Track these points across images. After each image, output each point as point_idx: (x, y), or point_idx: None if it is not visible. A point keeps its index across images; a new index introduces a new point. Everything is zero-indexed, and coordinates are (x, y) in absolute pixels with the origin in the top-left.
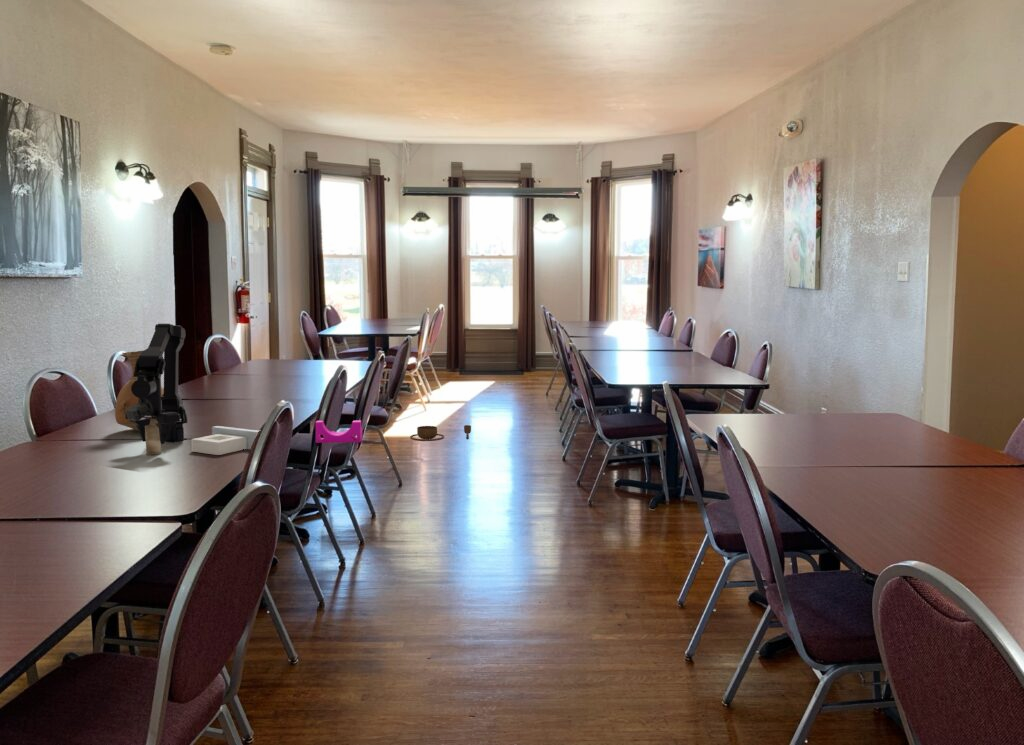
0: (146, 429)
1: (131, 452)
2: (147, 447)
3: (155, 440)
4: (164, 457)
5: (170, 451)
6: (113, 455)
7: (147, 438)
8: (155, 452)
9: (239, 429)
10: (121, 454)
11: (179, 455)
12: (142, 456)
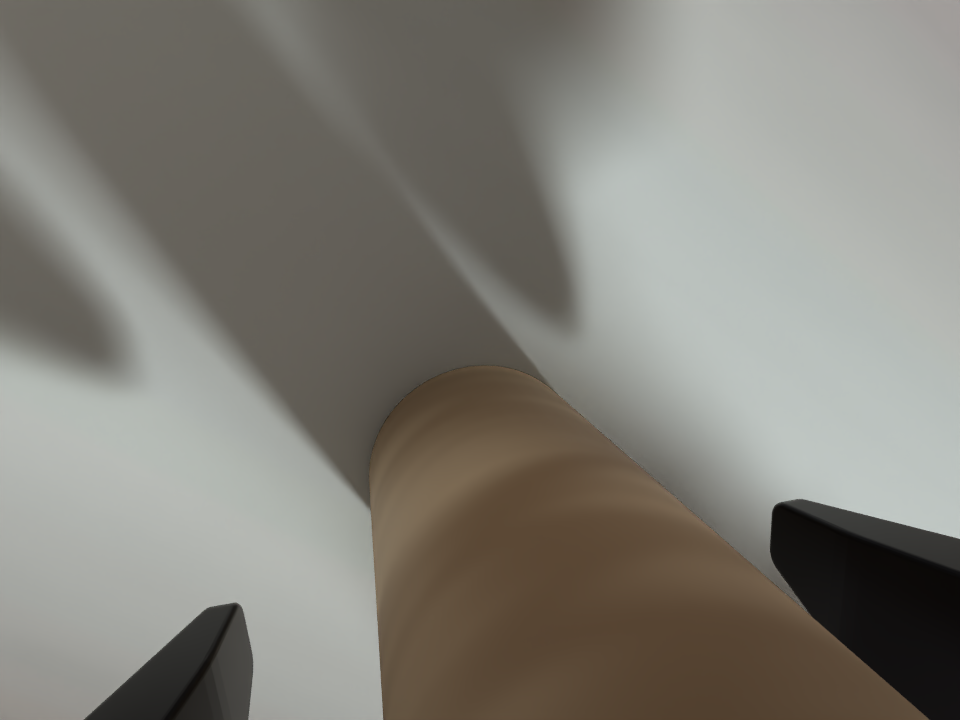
0: (732, 678)
1: (837, 332)
2: (505, 402)
3: (385, 593)
4: (44, 418)
5: None
6: (898, 25)
7: (552, 486)
8: (377, 455)
9: None
10: (852, 152)
11: (18, 653)
12: (446, 245)
